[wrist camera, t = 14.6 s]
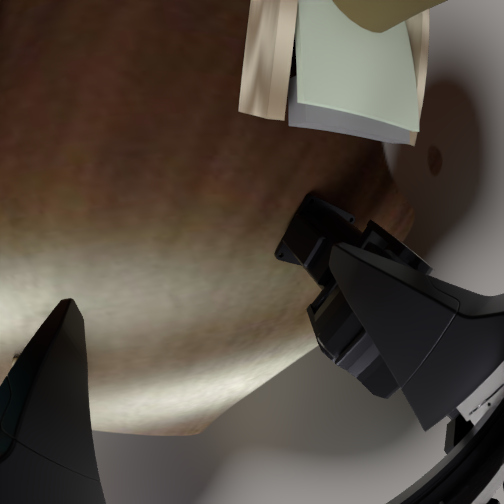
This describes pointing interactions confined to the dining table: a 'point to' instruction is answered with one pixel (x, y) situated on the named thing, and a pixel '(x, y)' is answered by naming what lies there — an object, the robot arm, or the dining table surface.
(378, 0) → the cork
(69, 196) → the dining table surface
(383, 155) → the dining table surface
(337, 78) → the light piece
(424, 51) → the trapdoor frame
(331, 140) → the dining table surface
